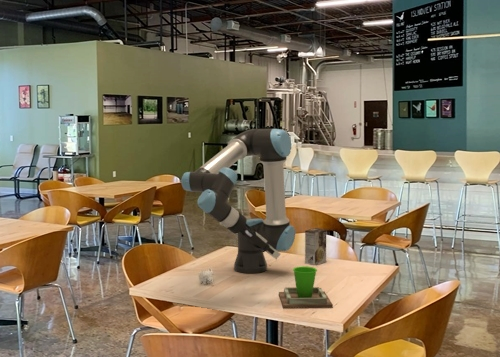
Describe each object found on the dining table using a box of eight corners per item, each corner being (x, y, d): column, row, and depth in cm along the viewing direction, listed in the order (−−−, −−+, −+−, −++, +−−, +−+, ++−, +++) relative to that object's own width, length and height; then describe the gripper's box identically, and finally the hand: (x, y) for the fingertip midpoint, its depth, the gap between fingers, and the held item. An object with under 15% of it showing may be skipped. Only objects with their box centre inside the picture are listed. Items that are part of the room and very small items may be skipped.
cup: (300, 303, 203) (301, 273, 202) (288, 296, 211) (288, 268, 210) (321, 299, 207) (321, 270, 206) (308, 293, 215) (308, 265, 214)
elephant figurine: (206, 287, 227) (206, 272, 226) (193, 283, 232) (193, 269, 231) (218, 283, 232) (218, 269, 231) (205, 280, 237) (205, 266, 236)
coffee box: (315, 260, 273) (316, 227, 271) (326, 262, 268) (327, 229, 267) (304, 263, 266) (304, 230, 265) (314, 265, 262) (315, 232, 260)
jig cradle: (278, 294, 216) (278, 286, 216) (324, 294, 217) (324, 286, 217) (283, 308, 200) (283, 299, 200) (332, 307, 201) (332, 299, 201)
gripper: (217, 217, 218) (254, 245, 227) (237, 239, 196) (277, 270, 205) (229, 202, 219) (265, 231, 228) (250, 223, 196) (290, 254, 205)
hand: (271, 249), depth 216 cm, fingers open, 13 cm apart
